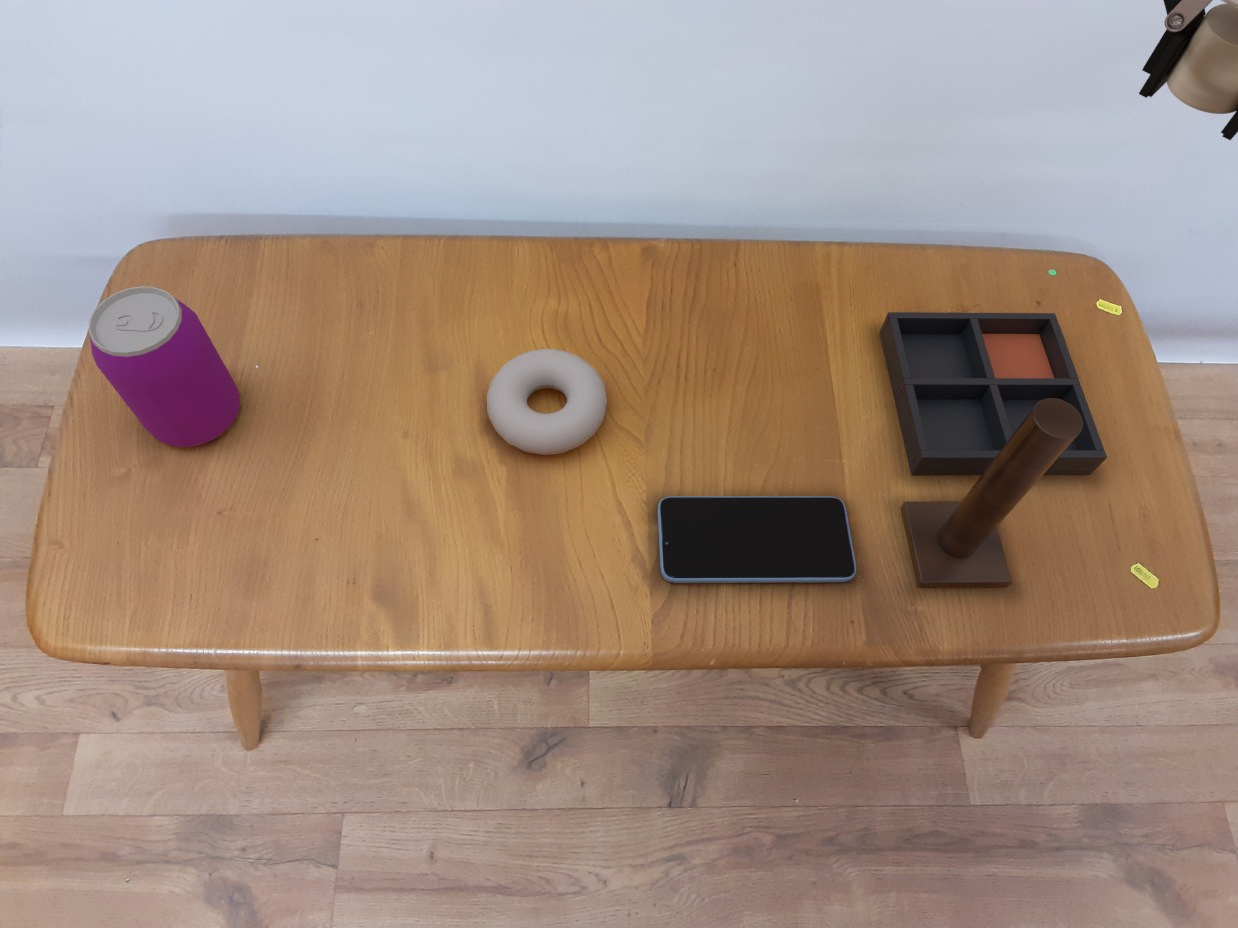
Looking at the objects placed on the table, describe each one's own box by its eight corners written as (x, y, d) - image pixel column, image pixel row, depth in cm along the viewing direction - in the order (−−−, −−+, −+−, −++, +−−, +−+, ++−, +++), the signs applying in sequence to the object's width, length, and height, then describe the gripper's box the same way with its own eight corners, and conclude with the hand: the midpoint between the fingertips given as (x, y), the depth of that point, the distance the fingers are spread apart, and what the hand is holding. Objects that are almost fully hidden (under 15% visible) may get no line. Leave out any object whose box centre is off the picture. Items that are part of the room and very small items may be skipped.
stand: (1007, 587, 68) (1132, 466, 52) (917, 587, 68) (1016, 467, 52) (985, 506, 71) (1096, 372, 56) (900, 507, 71) (988, 371, 56)
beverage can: (140, 456, 71) (65, 364, 61) (156, 378, 75) (89, 280, 65) (238, 450, 72) (181, 358, 61) (249, 374, 76) (197, 276, 65)
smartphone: (859, 578, 67) (661, 580, 66) (856, 583, 67) (660, 585, 67) (844, 493, 70) (657, 493, 70) (841, 498, 71) (656, 498, 70)
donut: (483, 462, 72) (606, 464, 72) (478, 439, 69) (606, 441, 69) (493, 364, 77) (608, 366, 77) (489, 338, 74) (608, 341, 74)
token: (1258, 90, 53) (1304, 28, 50) (1225, 125, 51) (1271, 63, 48) (1187, 55, 55) (1227, -7, 51) (1152, 88, 53) (1192, 25, 50)
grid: (1090, 475, 73) (1107, 457, 71) (911, 475, 73) (922, 457, 70) (1041, 333, 81) (1055, 312, 79) (878, 332, 80) (888, 311, 78)
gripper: (1221, -292, 40) (1040, 70, 55) (1636, -150, 34) (1305, 208, 50) (1286, -334, 43) (1097, 21, 58) (1678, -210, 37) (1353, 146, 53)
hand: (1195, 104), depth 54 cm, fingers closed on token, 4 cm apart
